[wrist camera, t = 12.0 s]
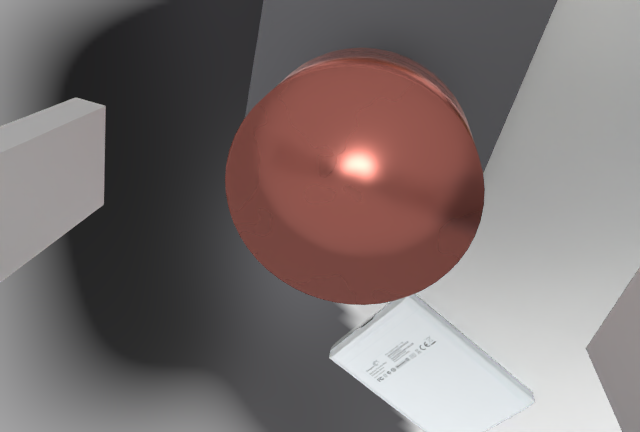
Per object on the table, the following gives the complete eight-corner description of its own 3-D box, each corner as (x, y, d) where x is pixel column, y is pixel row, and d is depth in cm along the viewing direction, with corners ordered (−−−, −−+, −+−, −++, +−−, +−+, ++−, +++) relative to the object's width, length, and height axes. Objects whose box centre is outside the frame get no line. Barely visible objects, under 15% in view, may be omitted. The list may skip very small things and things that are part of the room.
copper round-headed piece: (423, 158, 28) (431, 331, 15) (306, 125, 28) (211, 266, 15) (469, 31, 25) (531, 111, 12) (334, -5, 25) (245, 33, 12)
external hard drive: (447, 434, 40) (330, 345, 37) (531, 385, 36) (408, 283, 34) (448, 452, 38) (327, 361, 36) (536, 403, 35) (407, 297, 32)
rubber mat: (564, -27, 24) (568, -27, 23) (459, 220, 30) (460, 226, 30) (283, -101, 24) (280, -103, 23) (241, 158, 31) (237, 163, 30)
